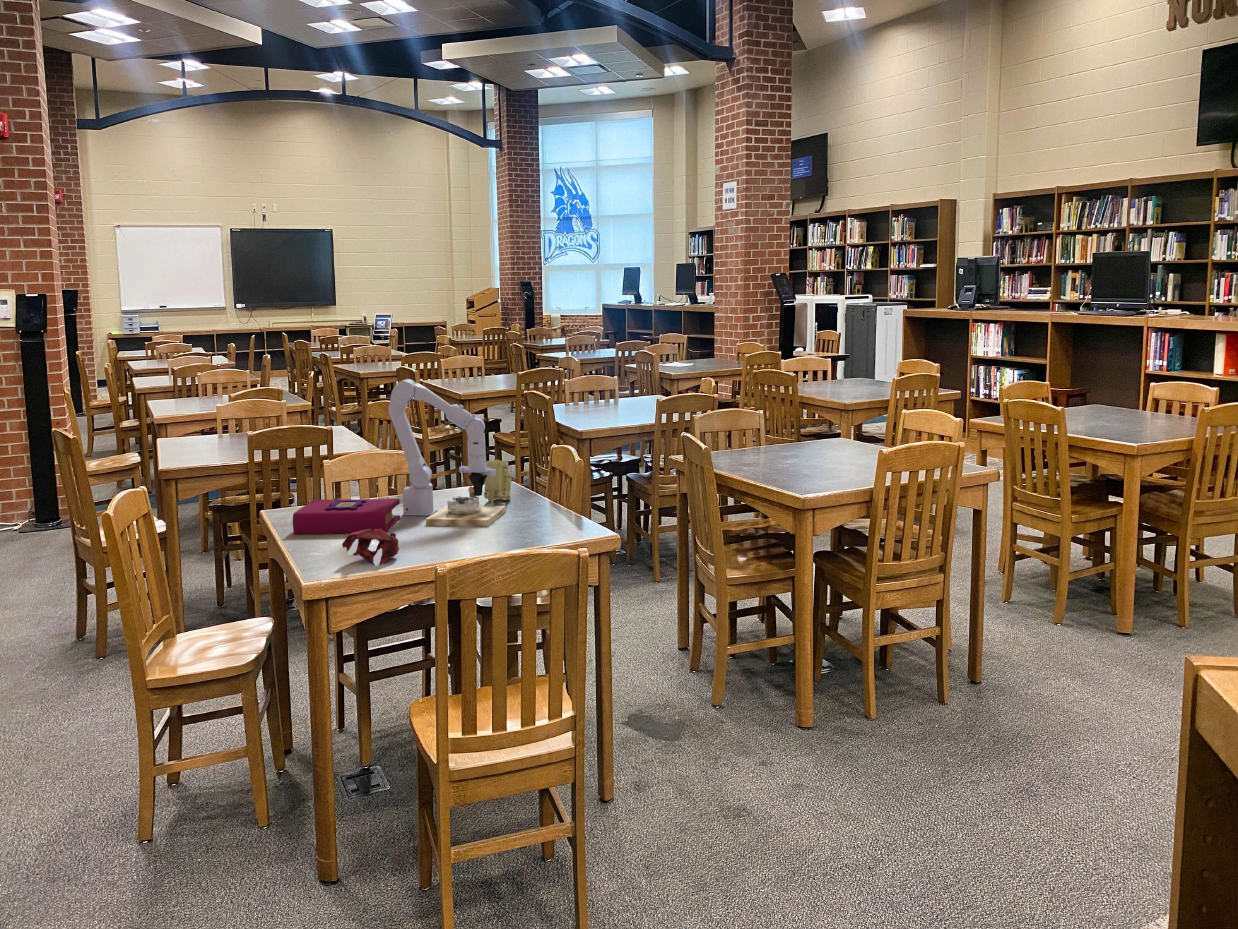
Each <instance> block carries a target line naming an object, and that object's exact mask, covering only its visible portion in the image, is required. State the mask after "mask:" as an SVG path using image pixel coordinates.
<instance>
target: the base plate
mask: <svg viewBox="0 0 1238 929" xmlns="http://www.w3.org/2000/svg"><path fill="white" fill-rule="evenodd" d="M506 508H507V507H506V505H493V506H491V505H480V504H479V510H480V511H479V512H478V513H476V514H471V515H451V514H448V504H446V505H444V506H443V507H441V508H440V509H438V511H436V512H435V513H433V514H432V515H430V516H428V517H426V518H425V525H426V526H438V525H450V526H449V527H451V526H452V527H453V526H454V527H489V526H490V525H492V524H493V523H494V522H496V521H497V520H498V519H499V518H500V517H502V516H501V515H504V514H505V513H506V512H507V509H506Z"/></svg>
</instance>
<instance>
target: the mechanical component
mask: <svg viewBox="0 0 1238 929" xmlns="http://www.w3.org/2000/svg"><path fill="white" fill-rule="evenodd" d="M486 466H487V468H491V469H496V475H495V476H490V475H487V478H486V479H485V482H484V491H483V498H484V499H487V500H488V501H490V506H494V501H498V500H505V501H507V500H512V499H511V498H512V496H511V492H512V491H511V489H512V488H511V486H512V480H513V479H512V477H509V461H507V460H500V459H495V460H486Z"/></svg>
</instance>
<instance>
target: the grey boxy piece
mask: <svg viewBox="0 0 1238 929" xmlns="http://www.w3.org/2000/svg"><path fill="white" fill-rule="evenodd" d="M467 491H468V494H469V497H468V496H460V495H459V496H452V499H449V500H447V502H446V503H447V504H446V505H448V514H451V515H471V514H476V513H478V512H479V511H480V510H479V505H480V496H475V491H474V487H473V485H471V486H469V487H468V489H467Z"/></svg>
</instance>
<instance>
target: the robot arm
mask: <svg viewBox="0 0 1238 929" xmlns="http://www.w3.org/2000/svg"><path fill="white" fill-rule="evenodd" d="M412 399H413V400H414V401H424V402H426V403H428V404H429V405H431V406H433V407H434V408H436V409H437V410H440V411H441V412H443V413H444V415H445V417H446V420H448V421H449V422H451V423H452V424H454V425H456V426H457V427H459V428H460V429H462V430H465V432H466V433H467V462H468V466H466V465H462V466H459V469H458V470H459V473H461V474H462V473H464V474H465V473H466V474H467V473H468V474H470V475H468V479H469V480H470V482H471V485H472V486H473V487H474V491H475V496H476V497H480V496H483V487H484V485H485V479H486V478H487V475H490V476H495V475H496V469H491V468H487V466H486V462H487V455H486V454H487V453H486V440H485V438H486V437H485V429H486V424H485V422H484V420H483V419H482V418H481V417H480V416H476V414H475V413H473V414H472V413H471V412H469V411H468V410H466V409H464V405H462V404H457V403H456V404H450V403H449V402H447V401H446V400H444V399H443V398H442V397H440V396H438V395H437V394H435V392H433V391H432V390H430V389H428V388H427V387H426V386H424V385H422V384H420V383H418V382H416V381H415V380H413V379H411V378H405V379H403V380H401V381H398V382H397V384H395V385H394V387H393V389H392V391H391V394H390V400H389V404H388V414H389V416H390V419H391V421H392V424H393V427H394V430H395V432H396V434H397V438H398V440H399V443H400V445H401V449H402V451H403V454H404V456H405V459H406V461H407V462H406V463H407V470H408V472H409V477H408V480H409V483H410V484H409V486H405V487H404V488H403V491H402V509H403V510H402V512H403V513H402V516H426V517H427V516H428V517H429V516H431V515H433V514H434V513H436V512H437V511H439V509H437V508H434V490H433V484H432V483H431V481H430V480H431V479H432V477H433V471H432V469H431V468H430V467H429V465H428V464H427V463H426V460H425V459H424V457H423V455H422V454H421V451H420V448H419V445H418V443H417V440H416V437H415V434H414V432H413V429H412V427H411V424H410V421H409V418H408V416H407V413H406V411H405V410H407V407H408V405H409V403H410V401H411V400H412Z"/></svg>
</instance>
